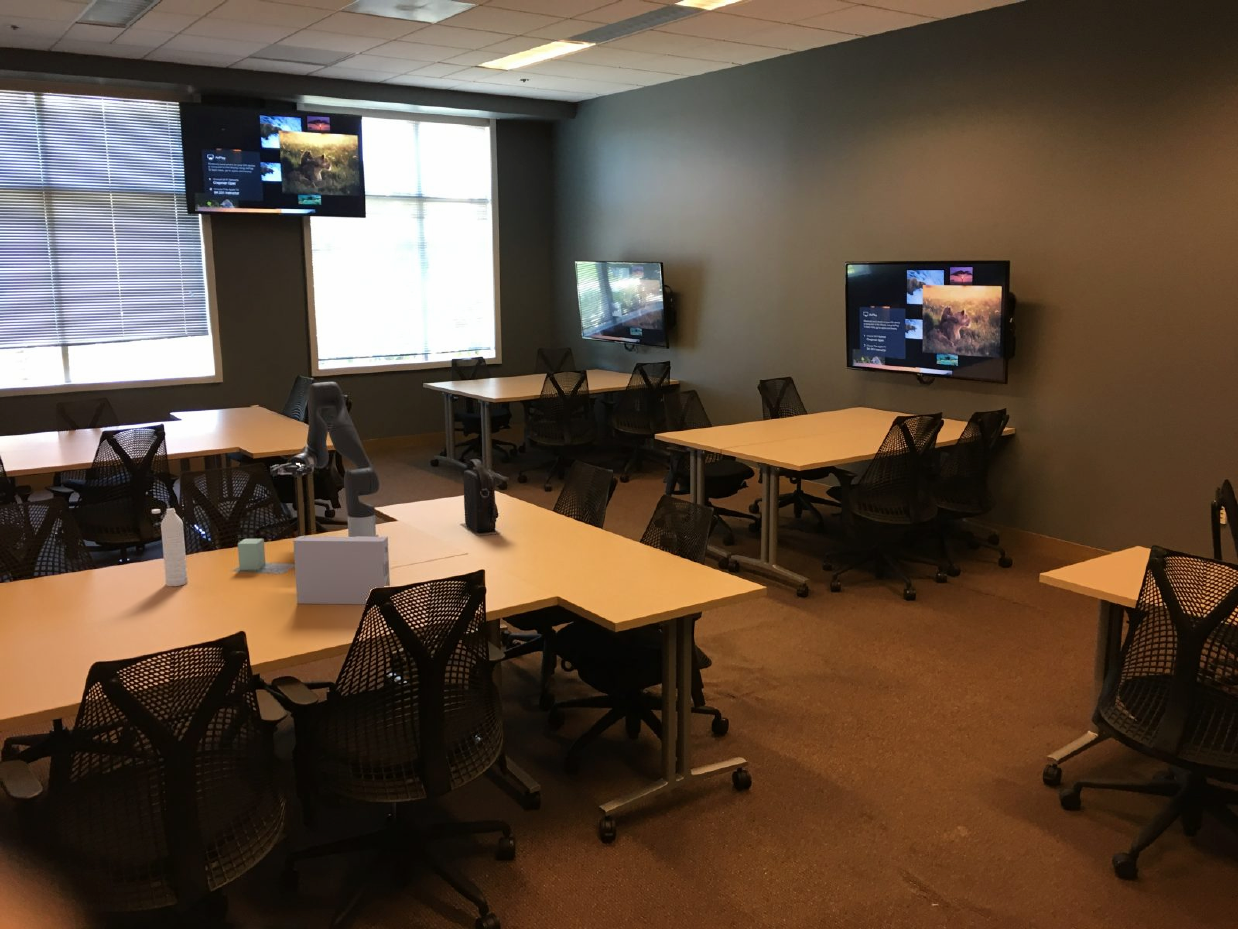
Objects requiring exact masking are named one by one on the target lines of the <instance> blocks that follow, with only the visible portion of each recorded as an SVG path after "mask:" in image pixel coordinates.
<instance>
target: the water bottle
mask: <svg viewBox="0 0 1238 929" xmlns="http://www.w3.org/2000/svg"><path fill="white" fill-rule="evenodd" d="M160 513H161V509H159V508H154V509H151V514H155V515H156V514H160ZM160 529H161V530H160V531H161V540H162V553H163V564H164V575H165V585H166V586H167V587H172V586H175V587H181V586H180V585H182V586H184V585H187V584H188V582H189V581H188V569H187V563H186V562H187V559H186V558H187V557H186V556H187V555H186V546H185V534H184V523H183V520H182V519H181V518H180V516H179V515H178V514H177V513H176V510H175V508H174V507H172V508H171V507H170V508H166V514H165V516H164V517H163V519H162V520H161V523H160Z"/></svg>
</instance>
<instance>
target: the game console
mask: <svg viewBox="0 0 1238 929" xmlns="http://www.w3.org/2000/svg"><path fill="white" fill-rule="evenodd" d="M292 541H293V544H292V545H293V556H294V557H293V558H294V560H293V561H294V564H295V567H294V574H295V588H296V590H295V592H296V604H297V605H299V604H300V605H301V604H302V605H305V604H307V605H311V604H312V605H315V604H317V605H367V604H366V599H367V598H368V596H369V593H370V590H371V589H373V588H375V587H384V586H390V587H391V582H390V581H391V580H390V552H389V536H378V537H367V536H356V537H349V536H307V535H301V536H300V535H299V536H298V537H296V538H295V539H293V540H292Z"/></svg>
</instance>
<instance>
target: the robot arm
mask: <svg viewBox="0 0 1238 929" xmlns="http://www.w3.org/2000/svg"><path fill="white" fill-rule="evenodd" d="M307 392H308V393H307V409H308V412H307V414H308V430H307V437H306V438H307V439H306V443H307V445H305V446H303V448H302V450H301V451H300V453H298V454H296V455H294V456H291V457H290V458H289V459H288V460H287V462H286V463H284V464H278V463H276V464H274V465H272V466H270V467H269V468H270V469H269V471H270V472H269V473H270V475H272V477H276V476H277V475H281V476H282V475H283V476H284V475H290V476H292V477H294V478H295V477H296V478H299V477H303V476H304V475H306V474H307V475H310V474H312V473H314V471H315V469H314V468H317V469H323V468H325V467H326V466H327V465H328V463H329V459H330V457H329V450H328V447H327V446H328V445H327V444H328V443H327V441H328V440H327V439H328V434H329V438H330V441H331V443H332V446H333V448H334V449H335V451H336V452H337V453H339V455H341V456H342V457H343V458H345V459H347V460H348V461H350V463H352V464H353V465H355V467H356V469H349V470H346V471H345V473H344V476H343V486H344V493H345V494H344V495H345V505H346V507H345V508H346V514H347V532H348V536H347V537H356V536H367V537H379V535H378V534H377V531H376V530H377V529H376V527H377V526H376V525H377V524H376V508H375V506H374V505H373V504H370V503H364V502H362V501H360V498H359V497H362V496H368V495H373V494H376V493H378V491H379V489H380V480H379V477H378V474H377V472H376V470H375V468H374V465H373V464H372V463H371V462H372V461H370V459H369V457H368V455H367V453H366V452H365V449H364V446H363V444H362V442H361V439H360V437H359V433H358V431H357V430H356V427H355V424H354V423H353V421H352V418H351V416H350V414H349V411H348V409H347V406H346V402H345V399H344V396H343V392H342V390H341V387H340V386H339V384H338V383H337V382H336V381H323V382H314V383H311V384H310V385H309V387H308V391H307ZM327 408H334V411H335V413H334V416H333V419H332V421H331V423H330V426H329V430H328V426H327V424H326V422H325V421H324V419H323V418H322V416H321V415H320V414H319V409H327Z"/></svg>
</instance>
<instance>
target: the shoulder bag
mask: <svg viewBox="0 0 1238 929" xmlns="http://www.w3.org/2000/svg"><path fill="white" fill-rule="evenodd" d="M474 467H475V468H474ZM462 475H463V476H462V478H463V503H464V504H463V505H464V506H463V507H464V508H463V509H464V523H459V525H460V526H461V527H463V528H465V529H466V530H468V531H470V532H472V534H475V535H476V536H479V537H480V536H485V535H486V536H488V535H495V534H501V532H500V531H498V530H496V523H497V519H498V517H499V512H498V511H499V510H498V506H497V502H496V496H495V495H496V493H495V492H496V491H495V487H496V486H495V485H496V478H495V475H494V474H491V473H490V472H488V470H485V467H484V465H483V463H482V460H480V459H478V458H473V459H470V460H469V461H467V466H466V470H464V471H463V474H462Z"/></svg>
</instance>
